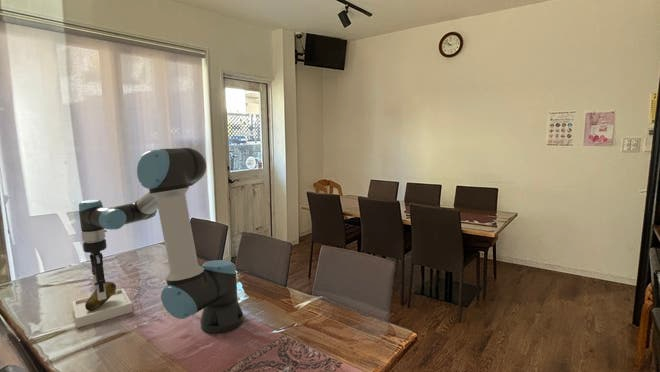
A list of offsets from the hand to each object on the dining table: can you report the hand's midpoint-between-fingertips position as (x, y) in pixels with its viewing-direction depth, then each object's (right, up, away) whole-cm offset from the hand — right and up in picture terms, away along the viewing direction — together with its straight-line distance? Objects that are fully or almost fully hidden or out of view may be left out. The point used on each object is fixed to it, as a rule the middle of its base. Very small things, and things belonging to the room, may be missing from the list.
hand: (100, 294), depth 142 cm
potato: (0, -4, 0) cm, 4 cm away
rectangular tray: (0, -7, +1) cm, 7 cm away
